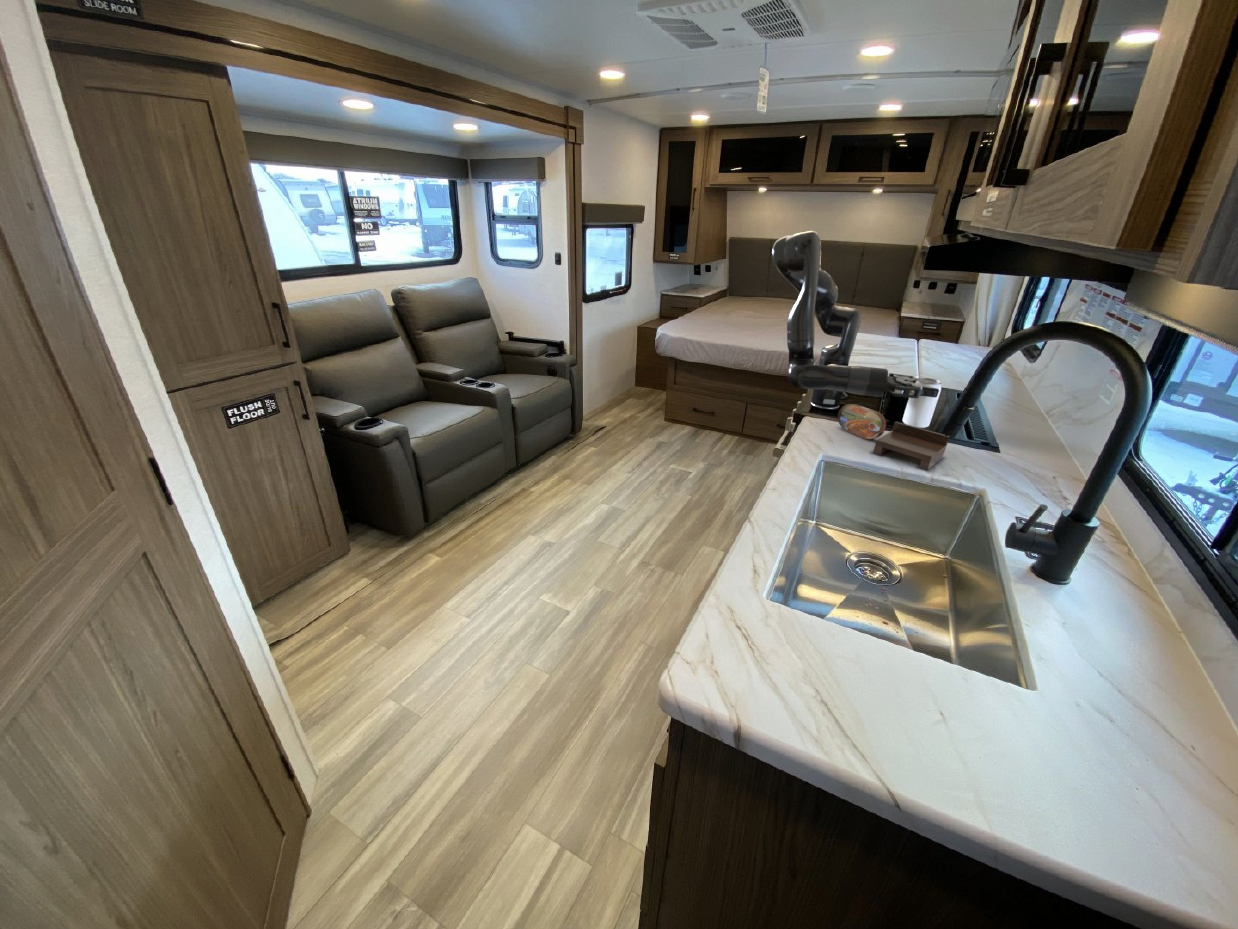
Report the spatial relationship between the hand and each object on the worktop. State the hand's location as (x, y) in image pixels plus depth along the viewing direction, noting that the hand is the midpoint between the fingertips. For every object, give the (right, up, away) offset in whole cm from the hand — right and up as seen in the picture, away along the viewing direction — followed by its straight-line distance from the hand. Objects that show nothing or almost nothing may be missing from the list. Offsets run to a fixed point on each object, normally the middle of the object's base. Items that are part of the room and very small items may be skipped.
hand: (934, 389), depth 128 cm
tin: (-9, -10, +23) cm, 26 cm away
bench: (-2, -17, +9) cm, 19 cm away
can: (-2, -9, +5) cm, 10 cm away
